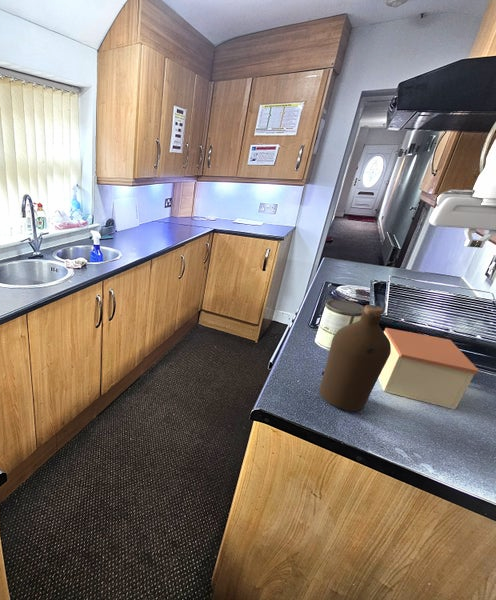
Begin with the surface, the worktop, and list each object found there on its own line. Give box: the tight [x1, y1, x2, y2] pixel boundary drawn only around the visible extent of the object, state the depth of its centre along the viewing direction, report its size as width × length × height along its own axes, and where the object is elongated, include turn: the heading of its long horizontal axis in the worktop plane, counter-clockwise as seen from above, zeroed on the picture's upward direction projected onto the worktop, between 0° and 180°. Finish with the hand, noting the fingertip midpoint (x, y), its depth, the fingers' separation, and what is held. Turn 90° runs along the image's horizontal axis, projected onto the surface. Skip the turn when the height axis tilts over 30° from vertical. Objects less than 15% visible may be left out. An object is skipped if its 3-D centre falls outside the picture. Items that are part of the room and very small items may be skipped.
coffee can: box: [314, 298, 365, 351], centre depth 103 cm, size 10×10×14 cm
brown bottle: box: [318, 304, 391, 412], centre depth 76 cm, size 11×11×25 cm
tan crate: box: [377, 330, 476, 410], centre depth 86 cm, size 16×14×11 cm
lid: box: [384, 327, 480, 375], centre depth 83 cm, size 16×14×1 cm
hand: (472, 246), depth 85 cm, fingers closed
